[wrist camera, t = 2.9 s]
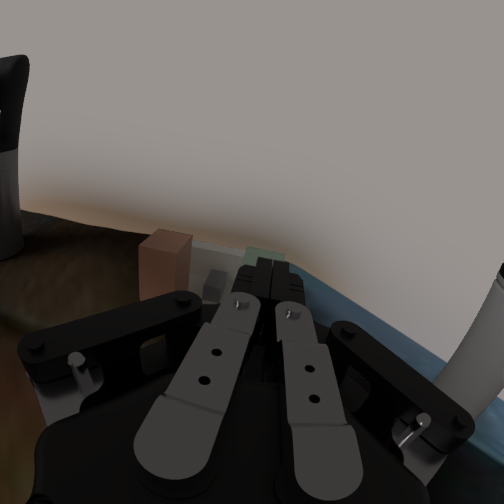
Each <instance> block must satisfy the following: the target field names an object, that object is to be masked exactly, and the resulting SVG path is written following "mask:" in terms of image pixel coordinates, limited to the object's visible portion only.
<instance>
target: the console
mask: <svg viewBox="0 0 504 504" xmlns="http://www.w3.org/2000/svg"><path fill="white" fill-rule="evenodd" d="M245 252H246V251H245V250H240V249H235V248H230V247H224V246H220V245H215V244H210V243H205V242H200V241H196V240H192V248H191V260H190V273H189V287H188V291H190V292H193V293H195V294H197V295H198V296H199V297H200V298H201V299H202V304H218V303H221V302H222V301H223V299H224V297H225V296H226V295H227V294H229V293H230V292H231V289H232V286H233V284H234V281H235V278H236V275H237V272H238V269H239V268H240V267H241V264H242V261H243V258H244V255H245Z"/></svg>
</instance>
